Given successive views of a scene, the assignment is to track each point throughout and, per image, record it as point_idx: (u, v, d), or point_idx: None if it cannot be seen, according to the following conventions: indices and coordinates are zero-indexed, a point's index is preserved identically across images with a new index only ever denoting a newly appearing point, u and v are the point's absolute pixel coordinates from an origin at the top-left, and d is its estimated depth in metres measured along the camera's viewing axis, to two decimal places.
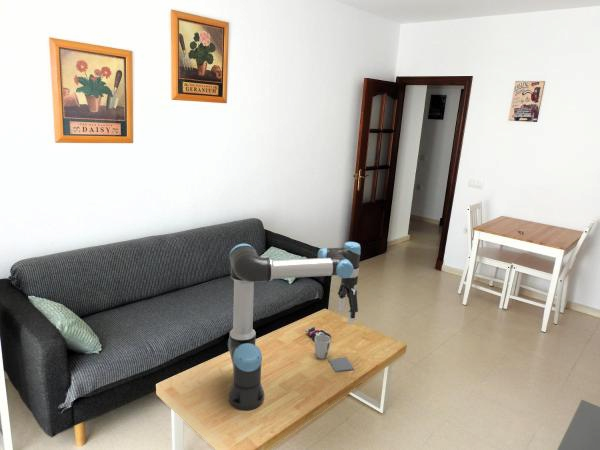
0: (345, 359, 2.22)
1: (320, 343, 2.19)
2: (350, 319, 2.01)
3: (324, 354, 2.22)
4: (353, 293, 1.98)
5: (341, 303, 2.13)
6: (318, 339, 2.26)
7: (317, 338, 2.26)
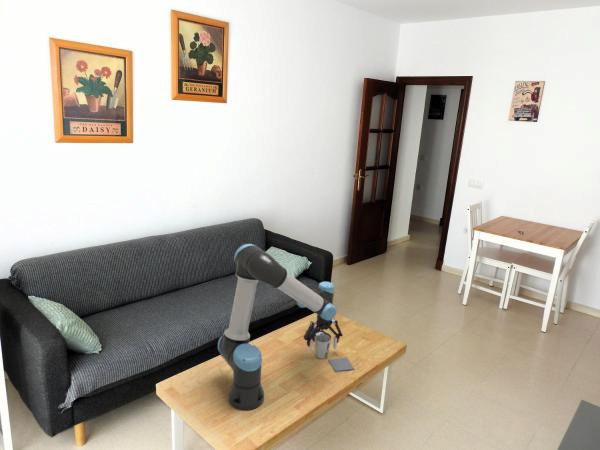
0: (345, 359, 2.22)
1: (320, 343, 2.19)
2: (308, 346, 2.23)
3: (324, 354, 2.22)
4: (310, 324, 2.19)
5: (334, 341, 2.26)
6: (318, 339, 2.26)
7: (317, 338, 2.26)
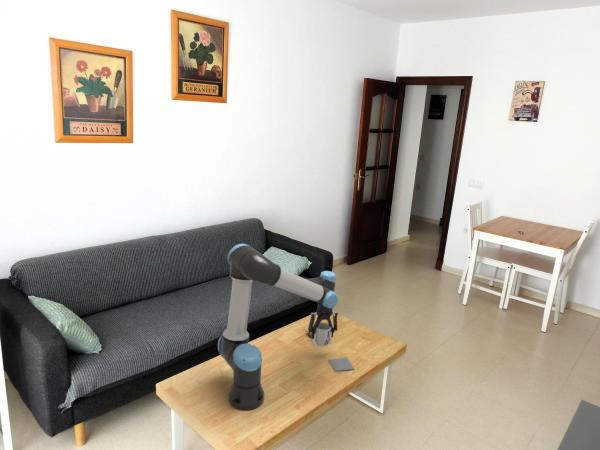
0: (345, 359, 2.22)
1: (320, 330, 2.17)
2: (312, 339, 2.22)
3: (324, 342, 2.20)
4: (311, 315, 2.18)
5: None
6: (318, 327, 2.24)
7: None
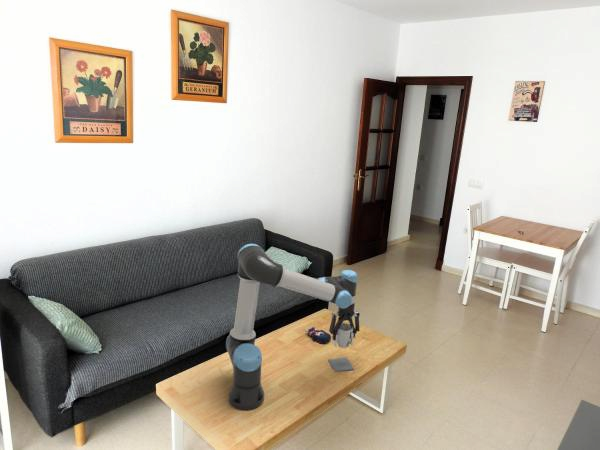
0: (345, 359, 2.22)
1: (342, 331, 2.09)
2: (334, 340, 2.14)
3: (346, 343, 2.12)
4: (332, 316, 2.10)
5: None
6: (339, 328, 2.16)
7: None
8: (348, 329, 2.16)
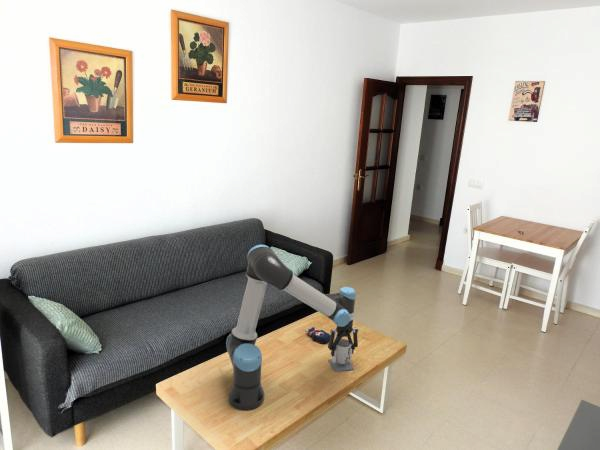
0: None
1: (341, 348, 2.11)
2: (332, 356, 2.16)
3: (345, 359, 2.14)
4: (331, 333, 2.12)
5: None
6: (338, 343, 2.19)
7: None
8: (346, 345, 2.18)
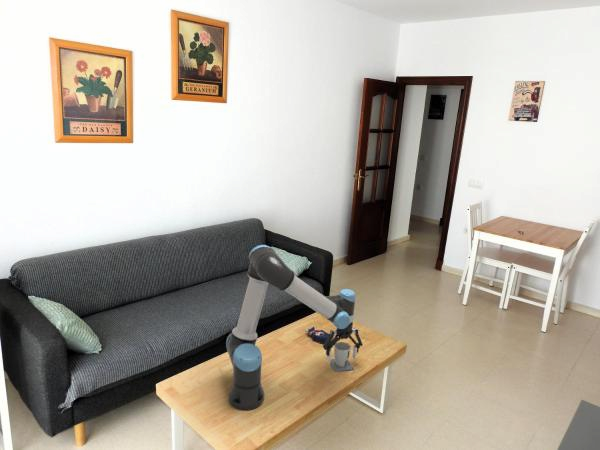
0: None
1: (340, 351, 2.12)
2: (327, 356, 2.15)
3: (344, 362, 2.14)
4: (330, 333, 2.12)
5: (353, 350, 2.18)
6: (338, 346, 2.19)
7: (337, 345, 2.18)
8: (346, 348, 2.19)
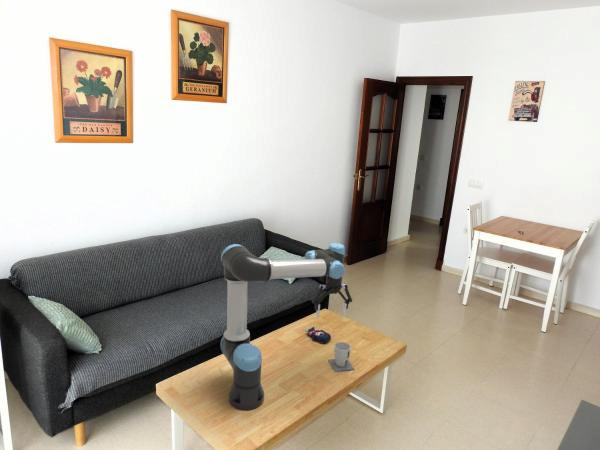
0: None
1: (340, 351, 2.12)
2: (316, 311, 2.14)
3: (344, 362, 2.14)
4: (319, 287, 2.11)
5: (343, 307, 2.17)
6: (337, 346, 2.19)
7: (337, 345, 2.18)
8: (346, 348, 2.19)
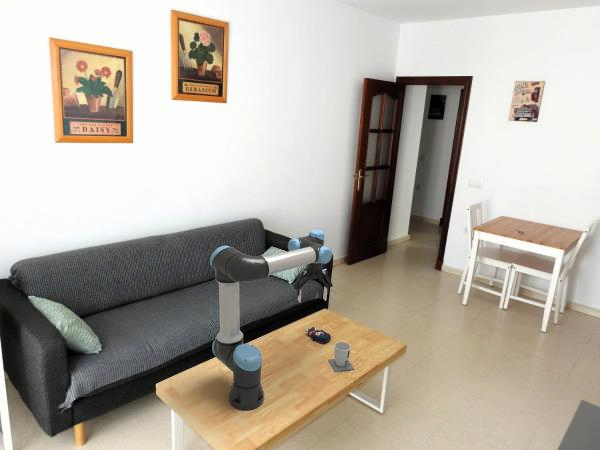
0: None
1: (340, 351, 2.12)
2: (298, 296, 2.20)
3: (344, 362, 2.14)
4: (300, 272, 2.17)
5: (324, 292, 2.23)
6: (338, 346, 2.19)
7: (337, 345, 2.18)
8: (346, 348, 2.19)
